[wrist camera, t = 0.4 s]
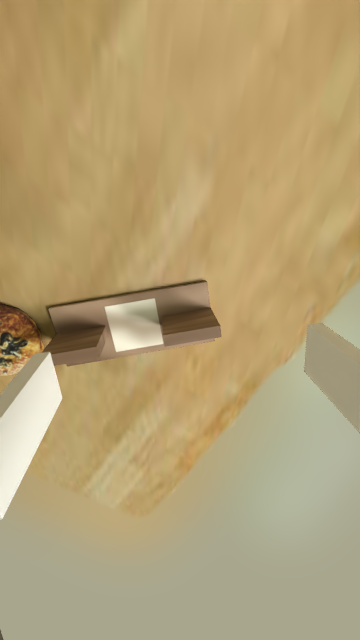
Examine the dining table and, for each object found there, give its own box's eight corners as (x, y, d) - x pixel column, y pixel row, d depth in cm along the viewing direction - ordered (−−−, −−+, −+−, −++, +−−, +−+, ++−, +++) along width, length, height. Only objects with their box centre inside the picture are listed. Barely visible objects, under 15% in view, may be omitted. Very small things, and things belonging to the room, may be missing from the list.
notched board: (50, 307, 42) (27, 328, 35) (206, 280, 42) (216, 295, 35) (68, 363, 45) (51, 393, 38) (213, 338, 45) (224, 363, 38)
